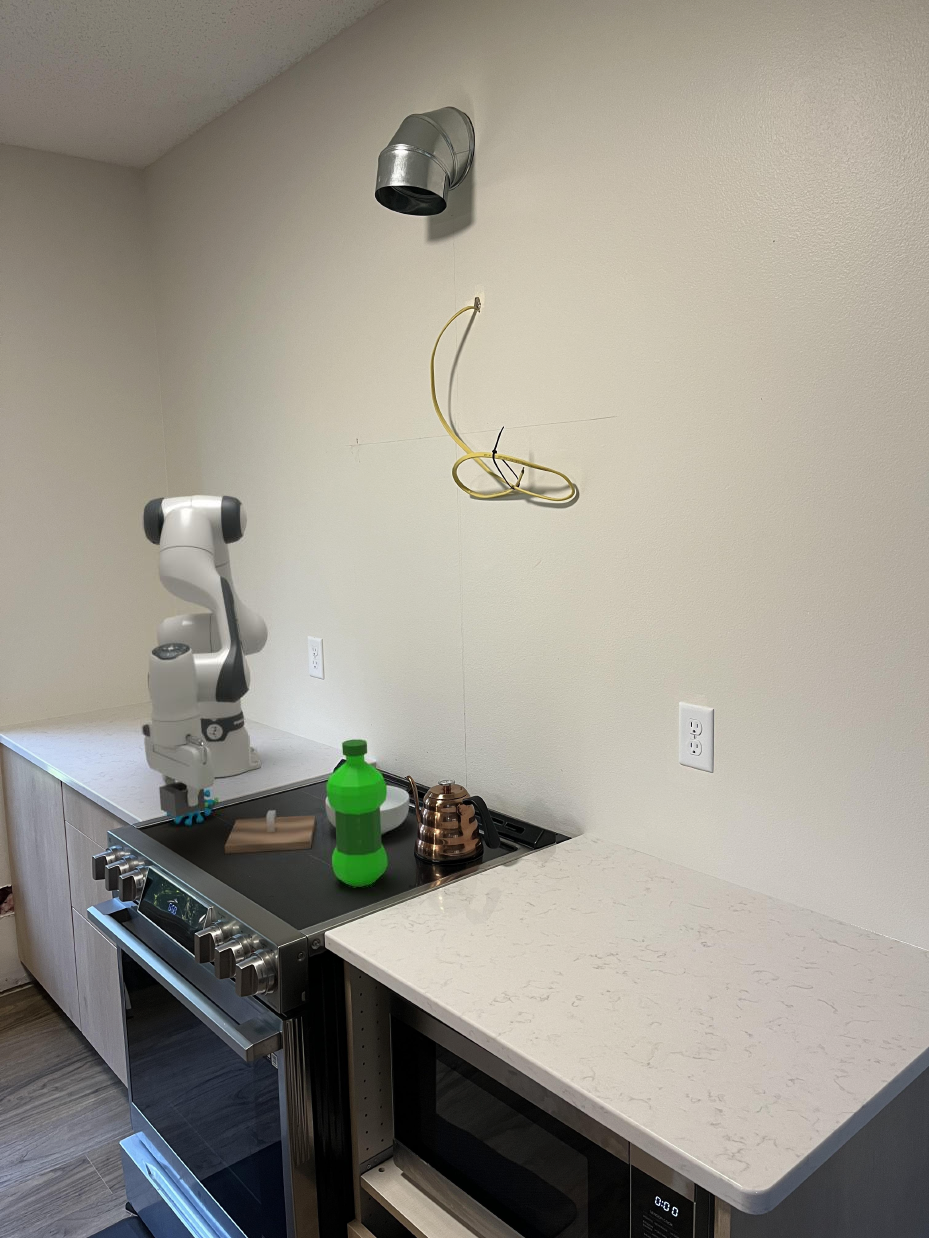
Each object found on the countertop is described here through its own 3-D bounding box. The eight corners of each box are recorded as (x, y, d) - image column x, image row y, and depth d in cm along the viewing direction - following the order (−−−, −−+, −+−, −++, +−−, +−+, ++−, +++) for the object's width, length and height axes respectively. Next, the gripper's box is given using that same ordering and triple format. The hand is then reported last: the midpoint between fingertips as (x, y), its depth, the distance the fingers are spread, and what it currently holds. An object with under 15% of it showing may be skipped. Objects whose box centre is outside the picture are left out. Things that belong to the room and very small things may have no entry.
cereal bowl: (388, 851, 174) (387, 815, 173) (311, 841, 180) (309, 806, 178) (423, 819, 189) (422, 787, 188) (351, 811, 195) (349, 779, 194)
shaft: (269, 827, 183) (268, 810, 183) (276, 827, 183) (275, 810, 183) (267, 832, 180) (266, 815, 180) (274, 832, 180) (273, 815, 180)
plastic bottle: (337, 868, 166) (331, 734, 163) (395, 869, 165) (390, 734, 161) (323, 893, 156) (316, 751, 153) (384, 894, 155) (379, 751, 152)
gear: (163, 823, 187) (164, 779, 193) (161, 835, 191) (162, 792, 197) (219, 822, 191) (219, 779, 196) (215, 834, 195) (215, 792, 201)
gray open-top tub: (161, 809, 176) (159, 786, 175) (189, 801, 180) (187, 778, 179) (176, 817, 172) (174, 793, 171) (205, 808, 176) (203, 785, 175)
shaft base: (237, 826, 188) (236, 819, 188) (315, 822, 190) (315, 815, 189) (225, 853, 174) (224, 845, 174) (310, 848, 176) (309, 841, 176)
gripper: (220, 737, 168) (225, 809, 171) (167, 717, 183) (172, 784, 185) (188, 744, 164) (194, 818, 166) (136, 724, 178) (142, 792, 181)
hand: (182, 800), depth 176 cm, fingers closed on gray open-top tub, 6 cm apart
